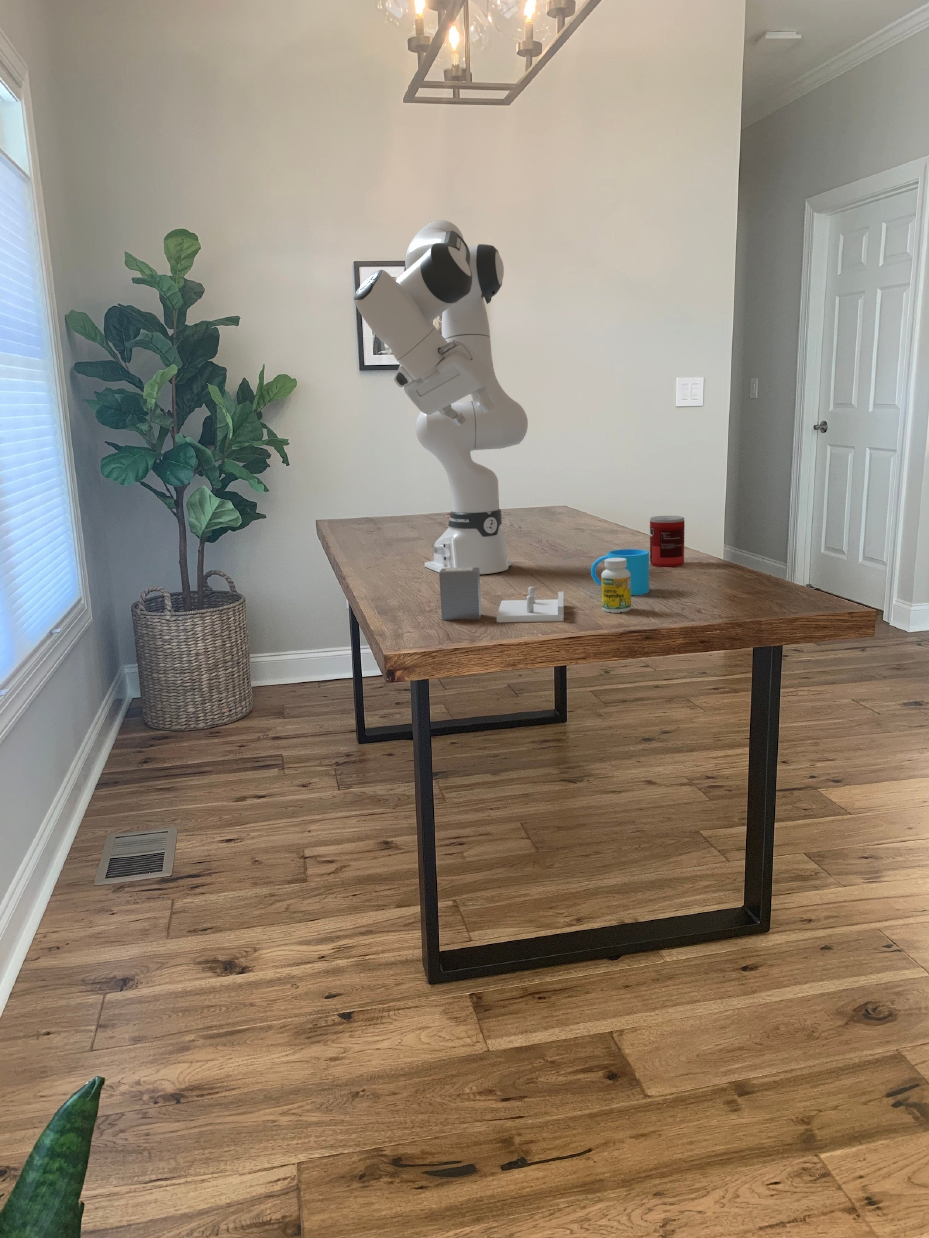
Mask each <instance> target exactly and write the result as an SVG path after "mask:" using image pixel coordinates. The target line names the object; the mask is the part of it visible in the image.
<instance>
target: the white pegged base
mask: <svg viewBox="0 0 929 1238" xmlns="http://www.w3.org/2000/svg"><path fill="white" fill-rule="evenodd" d="M557 594H558V595H557V598H556V599H554V598H553V599H536V587H535V586H529V587H528V595H526V599H518V600H517V599H514V600H513V599H512V600H511V599H510V600H501V602H500V605H499V608H498V610H497V615H496V623H532V622H533V623H535V622H536V623H538V622H539V623H540V622H545V623H546V622H564V621H565V620H564V618H565V613H564V612H565V611H564V610H565V601H564V600H565V597H564V596H565V593H564V591H557Z"/></svg>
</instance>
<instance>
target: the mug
mask: <svg viewBox="0 0 929 1238" xmlns="http://www.w3.org/2000/svg"><path fill="white" fill-rule="evenodd" d="M608 558H625V559H626V560H627V566H626V567H625V569H627V570H628V571H629V572H630V574H631V595H639V596H643V595H642V594H644V595H646V594H645V593H647V594H649V593H650V551H648V550H646V549H637V548H628V549H627V548H625V549H623V548H622V549H614V550H610V551H608V552H607V554H606V555H603V556H601V557H599V558H597V559H596V560H595V561H594V562H593V563H592V564H591V568H590V573H591V578H592V579H593V581H594V583H596V584H597V585H599V587H601V588H602V585H601V580H600V579H599V577H598V576H597V573H596V571H597V567H598V565H599V564H600V563H601V562H603V561H605V559H608ZM648 592H649V593H648Z"/></svg>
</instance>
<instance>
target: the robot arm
mask: <svg viewBox="0 0 929 1238" xmlns="http://www.w3.org/2000/svg"><path fill="white" fill-rule="evenodd" d="M504 267H505V266H504V263H503V259H502V257H501V254H500V253H499V251H498V249H497V248H496V246H494V245H491V244H486V243H484V244H483V243H481V244H480V243H479V244H478V245H468V244H467V243H466V242H465V239H464V235H463V234H462V231H461V230H460V229H459V228H458V226H457V225H456V224H454V223H453V222H452V221H448V220H443V219H441V220H440V219H439V220H434V221H431V222H430V223H428V224H426V225H424V226H423V227H422V228H421V229H420V230H419V231H418V232H417V233H416V234H415V235H414V237H413V238H412V240H411V241H410V243H409V246H408V248H407V250H406V254H405V265H404V268H403V273H401V274H400V275H398V277H396V278H394V277H393V276H391V274H390V273H389V272H387V271H386V270H385V269H379V270H377V271H375V272H373V273H372V274H370V275H369V276H368V277H367V278H366V279H365V280H364V281H363V282H362V283H361V285H360V286H359V287H358V288H357V289H356V292H355V293H354V297H353V302H354V305H355V307H356V308H357V311H358V312H359V313H360V315H361V317H362V318H363V320H364V321H365V323H366V324H367V325H368V327H369V328H370V330H371V331H372V332H373V333H374V334H375V336H376V337H377V338H378V340H380V342H382V343H383V344H385V345H386V346H387V347H388V348H389V349H390V350H391V353H392V354H393V357H394V359H395V360H396V361H397V362H398V363H399V366H398V369H397V371H396V374H395V376H394V377H393V381H394V383H395V385H397V387H399V388H403V390H404V392H405V394H406V395H407V397H408V398H409V400H410V401H412V403H413V404H414V405H415V406H416V408H417V409H418V410H419V411H420V412H419V414H418V416H417V418H416V422H415V435H416V436H417V439H418V442H419V443H420V444H421V446H422V447H423V448H424V449H426V450H427V451H429V452H430V453H431V454H433V455H434V457H435V458H437V460H438V461H439V462H440V463H441V465H442V466H443V468H444V470H445V473H446V475H447V477H448V482H449V489H450V497H451V511H450V513H446V516H447V517H446V519H448V523H447V526H448V528H446V529H445V531H444V532H443V533H442V535H441V536H440V537H439V538H438V539H437V540H435V542H434V545H433V560H430V561H427V562H424V568H427V569H429V570H431V571H434V572H437V573H439V572H440V571H441V569H444V568H460V567H474V568H479V571H480V575H486V574H487V575H488V574H494V573H495V574H496V573H500V572H504V571H507V570H508V569H509V567H510V566H512V561H511V559H509V557H508V549H507V542H506V535H505V532H504V531H503V530H502V527H501V525H502V523H503V521H502V518H503V514H502V509H500V501H499V500H500V495H499V478H498V476H497V474H496V473H495V472H494V471H493V470H492V469H490V468H488V467H486V466H484V465H482V464H480V463H477V462H475V461H474V460H473V459H472V458H473V457H472V456H471V452H472V451H483V450H498V449H499V450H502V449H505V448H509V447H512V446H517V445H520V444H521V442H522V441H523V440H524V438H525V437H526V434H527V432H528V426H529V425H528V424H529V422H528V421H529V420H528V417H527V413H526V411H525V409H524V408H523V406H522V405H521V404H520V403H518V402H517V401H516V400H514V399H513V398H511V396H509V395H508V394H507V393H506V392H505V390H504V389H503V387H502V386H501V384H500V382H499V380H498V378H497V376H496V372H495V369H494V368H495V367H494V362H493V361H494V360H493V355H492V354H493V353H492V346H491V345H492V344H491V343H492V342H491V332H490V323H489V318H488V313H487V308H486V305H485V302H486V304H487V305H488V304H491V301H492V298H493V297H494V296H496V295H497V294H498V292H499V291H500V289H501V288H502V286H503V280H504V274H505V268H504ZM484 300H485V301H484ZM440 315H441V333H440V331H439V329H437V327H436V326H435V325H434V324H433V323H432V322H433V321H434V320H435V319H436V318H438V317H439V316H440ZM469 395H471V396H470V397H471V398H472V400H471V401H459V400H461V399H463V398H465V397H467V396H469ZM458 401H459V402H458Z"/></svg>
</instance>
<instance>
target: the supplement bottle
mask: <svg viewBox="0 0 929 1238" xmlns="http://www.w3.org/2000/svg"><path fill="white" fill-rule="evenodd" d="M626 566H627V560H626V559H625V558H608V559H605V560H604V568H605V569H603V571H601V574H600V576H601V580H600V581H601V585H602V587H601V610H602V611H603V612H605V613H609V612H611V613H610V614H620V612H622V613H627V612H629V611H631V609H632V596H631V574H630V572H629V571H628V570H627V569H625V567H626Z"/></svg>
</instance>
